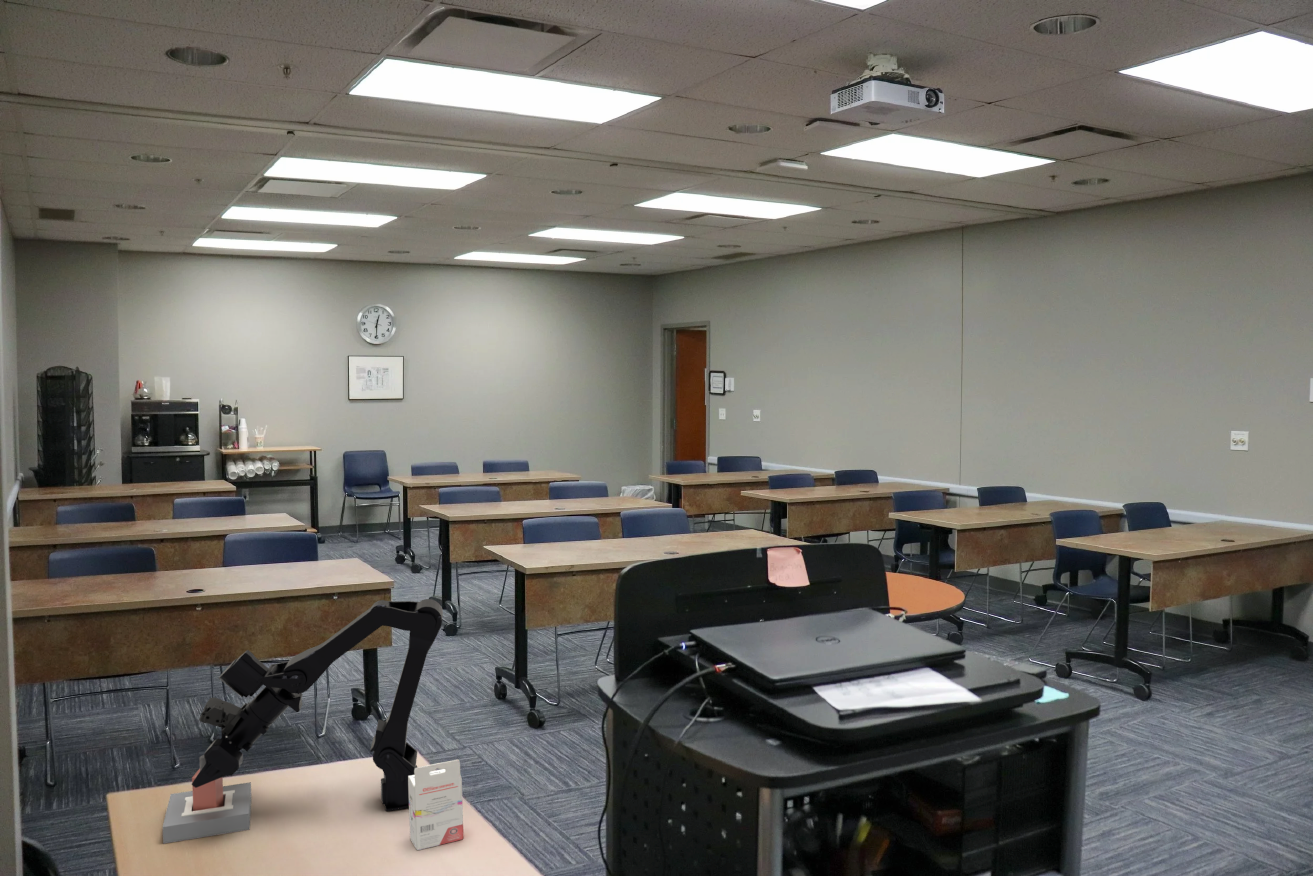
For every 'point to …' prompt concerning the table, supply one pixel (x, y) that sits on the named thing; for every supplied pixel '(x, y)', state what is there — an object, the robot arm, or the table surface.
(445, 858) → the table surface
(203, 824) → the socket plate
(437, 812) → the ink cartridge box
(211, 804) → the plug
